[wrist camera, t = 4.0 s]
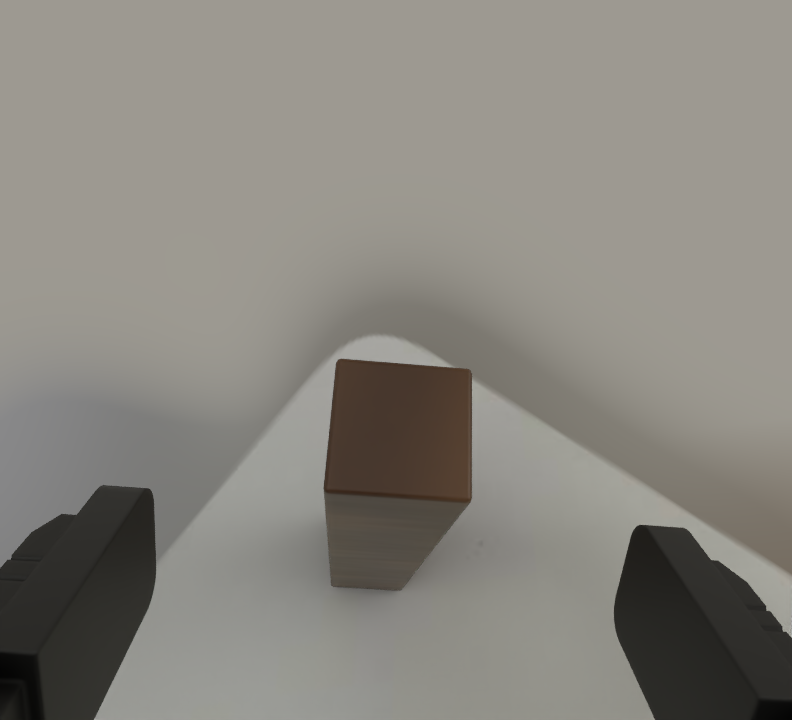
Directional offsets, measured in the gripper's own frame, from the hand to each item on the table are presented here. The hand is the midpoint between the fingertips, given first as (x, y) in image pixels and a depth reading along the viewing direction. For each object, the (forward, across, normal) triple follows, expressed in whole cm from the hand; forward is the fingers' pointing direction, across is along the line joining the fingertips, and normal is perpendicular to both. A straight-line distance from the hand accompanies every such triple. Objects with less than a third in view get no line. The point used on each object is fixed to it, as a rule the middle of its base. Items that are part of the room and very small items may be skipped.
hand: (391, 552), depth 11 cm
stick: (+10, 0, +7) cm, 12 cm away
